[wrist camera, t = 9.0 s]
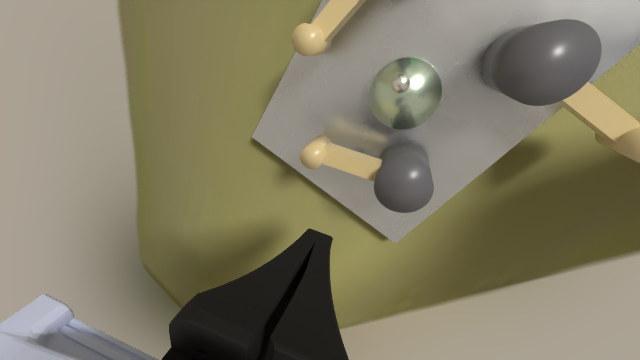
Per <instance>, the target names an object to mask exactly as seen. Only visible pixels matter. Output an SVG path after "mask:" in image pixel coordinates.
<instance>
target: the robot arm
mask: <svg viewBox="0 0 640 360" xmlns="http://www.w3.org/2000/svg"><path fill="white" fill-rule="evenodd" d="M332 240H333V238H332V237H331V236H329V235H326V234H323V233H321V232H318V231H315V230H312V229H307V231H306V232H305V233H304V234H303V235H302V236H301V237H300V238H299V239H298V240H296V241H295V242H294V243H293V244H292V245H291V246H289V247H288V248H287V249H286V250H285V251H283V252H282V253H280V254H279V255H278V256H276V257H275V258H274V259H272V260H271V261H269V262H268V263H266V264H264V265H263V266H261V267H259V268H258V269H256V270H254V271H252V272H250V273H248V274H247V275H245V276H242V277H240V278H238V279H236V280H234V281H231V282H229V283H227V284H224V285H222V286H219V287H216V288H213V289H210V290H207V291H205V292H202V293H198V294H197V295H196V296H195V297H193V298H192V299H191V300H190V301H189V302H188V303H187V304H186V305H185V306H184V307H183V308H182V309H181V310H180V312H179V313H178V314H177V315H176V317H174V319H173V320H172V321H171V323H170V324H169V334H170V340H171V348H170V350H169V351H168V352H167V353H166V355H165V356H164V357H163V358H162V360H349V359H348V356H347V353H346V351H345V348H344V344H343V341H342V338H341V335H340V331H339V328H338V323H337V319H336V315H335V311H334V305H333V300H332V293H331V284H330V249H331V243H332ZM0 360H158V359H156V358H154V357H152V356H150V355H148V354H146V353H144V352H142V351H140V350H138V349H136V348H134V347H132V346H130V345H128V344H126V343H124V342H122V341H120V340H118V339H116V338H114V337H112V336H110V335H108V334H106V333H104V332H102V331H100V330H98V329H96V328H94V327H91V326H90V325H88V324H86V323H84V322H82V321H80V320H78V319H76V318H74V314H73V312H72V310H71V309H70V307H69V306H68V305H66V304H65V303H63V302H61V301H59V300H57V299H55V298H53V297H51V296H49V295H47V294H43V295H41V296H40V297H38V298H37V299H35V300H34V301H33V302H31V303H29V304H28V305H27V306H25V307H24V308H22V309H21V310H20V311H18V312H16V313H15V314H13V315H12V316H10V317H9V318H7V319H6V320H4V321H3V322H1V323H0Z"/></svg>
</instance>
